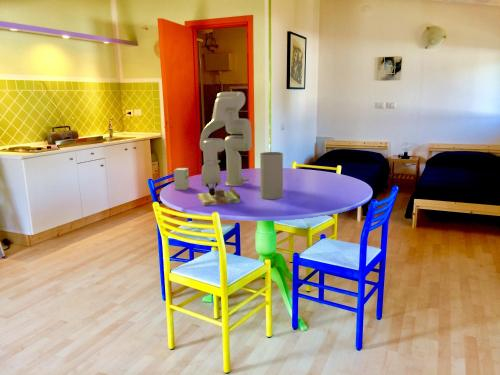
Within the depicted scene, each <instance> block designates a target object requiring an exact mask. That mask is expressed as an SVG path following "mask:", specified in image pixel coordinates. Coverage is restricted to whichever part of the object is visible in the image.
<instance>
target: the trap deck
mask: <svg viewBox="0 0 500 375" xmlns="http://www.w3.org/2000/svg"><path fill="white" fill-rule="evenodd" d="M224 192H225V197H216V196H215V194H214V196H213V195H212V196H211V195H210V194H209V192H202V193H197V198H198V199H199V201H200V202H201V204H202V205H203V207H204V206H205V207H207V206H216V205H225V204H227V205H229V204H238V203H241V195H240V193H238V192H237V191H236V190H235V189H234V188H232V187H229V190H226V191H225V190H224Z"/></svg>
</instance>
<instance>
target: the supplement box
mask: <svg viewBox="0 0 500 375" xmlns="http://www.w3.org/2000/svg"><path fill="white" fill-rule="evenodd" d="M189 175H190V174H189V167H177V168H175V169H174V170H173V179H174V180H173V182H174V183H173V184H174V190H178V191H179V190H181V191H186V190H187V189H189V188H190V176H189Z"/></svg>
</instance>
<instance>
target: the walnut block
mask: <svg viewBox="0 0 500 375" xmlns="http://www.w3.org/2000/svg"><path fill="white" fill-rule="evenodd" d="M224 191H225V190H224V189H223V188H220V189H216V188H215V196H216V197H225V192H224Z"/></svg>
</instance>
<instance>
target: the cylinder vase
mask: <svg viewBox="0 0 500 375" xmlns="http://www.w3.org/2000/svg"><path fill="white" fill-rule="evenodd" d="M259 156H260V157H259V158H260V160H259V161H260V163H259V164H260V165H259V166H260V168H259V170H260V197H261V198H262V199H264V200H272V201H273V200H274V201H275V200H279V199H282V198H283V196H284V189H283V187H284V186H283V185H284V180H283V179H284V173H283V172H284V169H283V168H284V153H283V152H280V151H279V152H278V151H265V152H261V153H259Z"/></svg>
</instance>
